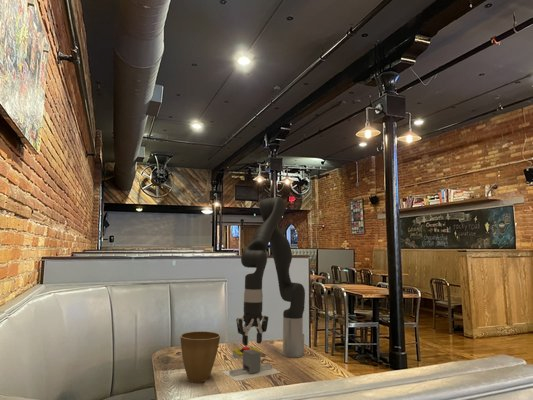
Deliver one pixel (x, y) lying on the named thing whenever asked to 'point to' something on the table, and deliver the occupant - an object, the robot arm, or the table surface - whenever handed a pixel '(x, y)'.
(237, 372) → the rail
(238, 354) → the emergency button
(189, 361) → the plant pot
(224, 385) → the table surface
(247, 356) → the block
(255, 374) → the mounting plate
